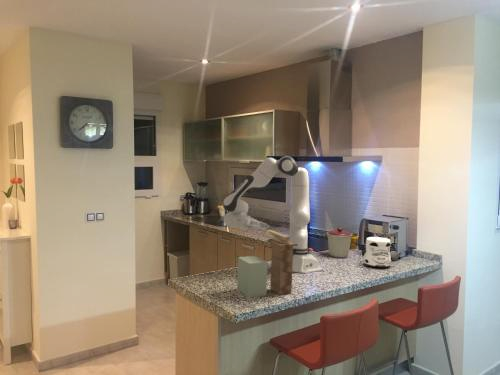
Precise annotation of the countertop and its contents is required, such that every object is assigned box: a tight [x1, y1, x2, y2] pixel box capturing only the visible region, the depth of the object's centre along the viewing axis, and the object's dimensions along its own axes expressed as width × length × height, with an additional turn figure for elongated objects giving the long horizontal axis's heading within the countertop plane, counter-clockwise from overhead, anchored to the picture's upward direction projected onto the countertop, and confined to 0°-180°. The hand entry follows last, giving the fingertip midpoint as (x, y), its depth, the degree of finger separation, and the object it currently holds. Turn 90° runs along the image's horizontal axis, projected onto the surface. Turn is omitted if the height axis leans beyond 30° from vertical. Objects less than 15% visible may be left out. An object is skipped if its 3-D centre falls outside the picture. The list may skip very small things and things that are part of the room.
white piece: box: [363, 236, 392, 269], centre depth 278 cm, size 17×17×18 cm
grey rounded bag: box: [390, 251, 402, 261], centre depth 301 cm, size 15×8×20 cm
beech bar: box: [265, 229, 290, 244], centre depth 222 cm, size 3×20×4 cm, turn 25°
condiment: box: [349, 232, 359, 250], centre depth 331 cm, size 7×8×12 cm
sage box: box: [236, 255, 268, 298], centre depth 216 cm, size 10×14×17 cm
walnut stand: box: [267, 239, 297, 296], centre depth 219 cm, size 10×14×26 cm
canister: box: [326, 226, 352, 259], centre depth 303 cm, size 18×18×21 cm
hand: (263, 225), depth 247 cm, fingers open, 8 cm apart
